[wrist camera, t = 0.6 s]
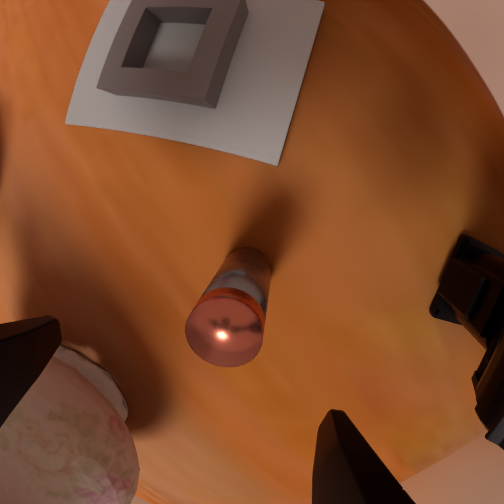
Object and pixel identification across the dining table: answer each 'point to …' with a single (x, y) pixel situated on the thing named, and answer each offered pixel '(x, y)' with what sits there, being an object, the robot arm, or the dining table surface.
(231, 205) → the dining table surface
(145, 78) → the grey plate with socket
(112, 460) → the ceramic pitcher
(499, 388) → the robot arm
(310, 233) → the dining table surface
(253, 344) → the pin
